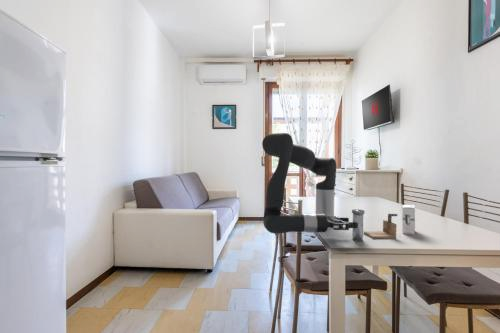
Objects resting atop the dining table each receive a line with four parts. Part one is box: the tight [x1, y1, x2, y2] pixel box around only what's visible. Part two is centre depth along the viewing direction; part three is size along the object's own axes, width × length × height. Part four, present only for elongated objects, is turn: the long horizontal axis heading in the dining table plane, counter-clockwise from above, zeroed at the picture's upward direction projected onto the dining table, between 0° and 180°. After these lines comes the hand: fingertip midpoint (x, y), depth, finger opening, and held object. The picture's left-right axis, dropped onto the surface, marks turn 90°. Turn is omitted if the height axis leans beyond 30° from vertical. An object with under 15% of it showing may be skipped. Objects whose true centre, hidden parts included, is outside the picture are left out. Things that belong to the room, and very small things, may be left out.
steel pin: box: [351, 208, 365, 242], centre depth 115 cm, size 5×5×12 cm
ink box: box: [401, 204, 416, 236], centre depth 129 cm, size 9×5×12 cm, turn 149°
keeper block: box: [363, 213, 398, 240], centre depth 121 cm, size 8×12×10 cm, turn 94°
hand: (352, 222), depth 115 cm, fingers open, 8 cm apart
